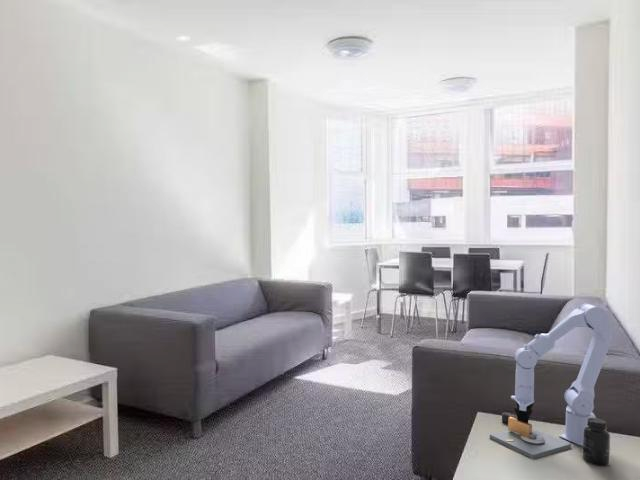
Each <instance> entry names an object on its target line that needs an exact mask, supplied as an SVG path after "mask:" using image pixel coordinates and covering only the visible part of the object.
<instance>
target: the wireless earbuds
mask: <svg viewBox="0 0 640 480" xmlns="http://www.w3.org/2000/svg"><path fill="white" fill-rule="evenodd" d="M509 417H513V418H516V419H518V418H517V415H516V414H514V413H510V412H507V411H504V412H502V413H501V422H502V423H504V424H507V425H508V418H509Z"/></svg>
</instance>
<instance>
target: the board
mask: <svg viewBox="0 0 640 480" xmlns="http://www.w3.org/2000/svg"><path fill="white" fill-rule="evenodd" d="M532 433H534V434H536V435H539V436H541V437H543V438H544V439H545V442H544V443H543V444H532V443H528V442H526V441H523V440H522V439H521V438H520V436H521V434H518V433H516V432H513V431H511V430H508V429H507V430H503V431H498V432H493V433H490V434H489V439H491V440H493V441H495V442H497V443H498V444H501V445H503V446H505V447H507V448H509V449H511V450H513V451H515V452H517V453H520V454H521V455H524V456H525V457H528V458H530V459H532V460H534V459H538V458H541V457H545V456H548V455H551V454H555V453H558V452H561V451H564V450H567V449H568V450H569V449H571V448H572V444H571V442H568V441H565V440H562V439H561V438H558V437H555V436H553V435H552V434H551V435H550V434H548V433H546V432H543V431H542V430H539V429H536V428H534V427H532Z"/></svg>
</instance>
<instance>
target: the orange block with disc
mask: <svg viewBox="0 0 640 480" xmlns="http://www.w3.org/2000/svg"><path fill="white" fill-rule="evenodd" d="M532 428H533V425H532V424H531V423H529V422H528V423H527V422H524V421H521V420H518V419H516V418H513V417H509V418H508V424H507V430H511V431H513V432H516V433H518V434H521V436H520V438H521V439H522V440H523V441H526V442H528V443H532V444H543V443H544V442H545V439H544V438H543V437H541V436H539V435H536V434H534V433H532Z"/></svg>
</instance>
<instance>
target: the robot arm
mask: <svg viewBox="0 0 640 480" xmlns="http://www.w3.org/2000/svg"><path fill="white" fill-rule="evenodd" d="M575 328H588V330H589V331H590V333H591V334H592V337H591V340H590V343H589V346H588V347H587V351H586V353H585V356H584V359H583V361H582V363H581V366H580V370H579V373H578V375H577V378H576V380H573V382H572V383H571V386H570V387H569V388H568V389H566V390H565V392H564V400H565V402H566V404H567V406H566V408H565V427H564V428H565V430H564V431H565V433H562V434H559V438H560V439H561V438H562V439H564V440H566V441H569V442H570V443H574V444H576V445H579V446H582V447H583V431H584V429H585V428H586V427H588V425H587V423H588V418H597V417H596V415H595V413H594V412H593V411H594V408H595V405H594V404H595V403H594V399H595V397H596V396H595V385H596V383H597V381H598V380H597V379H598V378H599V375H600V371H601V370H602V367H603V364H604V362H605V359H606V356H607V354H608V351H609V349H610V346H611V343H612V340H613V339H614V338H613V337H614V334H613V330H612V329H613V328H612V324H611V317H610V315H609V314H608V313H607V311H606V310H605V309H604V308H603V307H600V306H596V305H594V304H592V303H587V302H586V303H583V304H581V305H579V307H577V308H575V309H573V311H571V312H570V313H569V314H568V315H567V316H566V317H565V318H563V320H561V321H560V322H559V323H558V324H557V325H556V326H554V327H553V328H552V329H551V330H550V331H549V332H548V333H536V334H535V335H534V339H532V340H531V341H529V342H528V343H524V345H523V347H520V348H518V349H517V350H516V351H515V353H514V355H513V357H514V360H515V378H514V379H515V380H514V381H515V384H514V395H510V399H511V400H514V401H515V404H516V405H514V406H513V410H514V412H515V415H517V418H518V420H521V421H524V422H527V423H529V419H530V417H531V415H532V413H533V411H534V410H533V409H532V408H533V406H534V403H535V399H534V395H535V394H534V393H535V392H534V391H535V366H536V365H537V364H538V360H540V359H541V358H542V357H544V356H545V355H547V354H548V353H549V352H550V351H551V350H553V349H554V348H555V346H556V345H555V344H556V342H557V341H558V340H559V339H561V338H562V337H564V336H565V335H566V334H568V333H570V332H571V331H573V330H574V329H575Z"/></svg>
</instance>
